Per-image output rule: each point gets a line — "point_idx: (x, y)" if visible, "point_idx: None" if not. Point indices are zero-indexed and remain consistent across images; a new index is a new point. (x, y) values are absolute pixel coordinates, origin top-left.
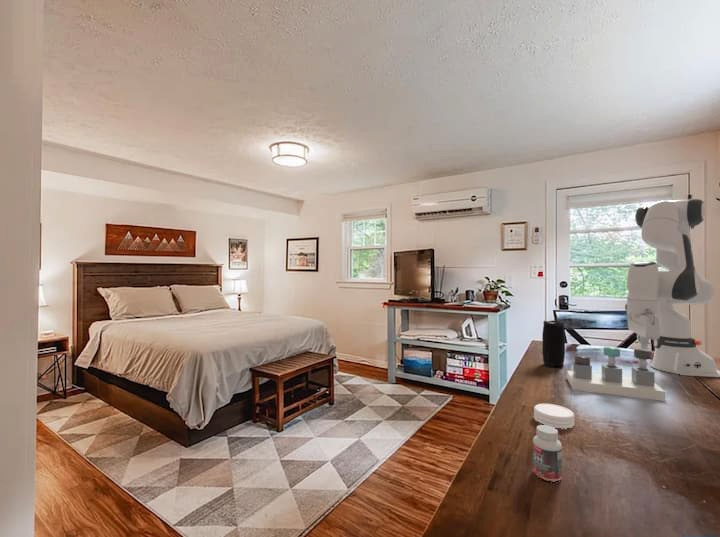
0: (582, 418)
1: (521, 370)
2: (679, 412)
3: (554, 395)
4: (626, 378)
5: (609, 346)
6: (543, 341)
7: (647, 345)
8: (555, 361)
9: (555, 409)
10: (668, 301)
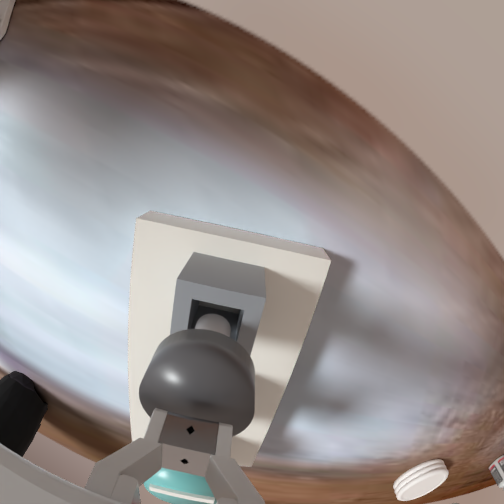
0: (419, 452)
1: None
2: (422, 269)
3: (303, 476)
4: (158, 319)
5: (151, 490)
6: None
7: (230, 443)
8: (40, 414)
9: (422, 486)
10: None
